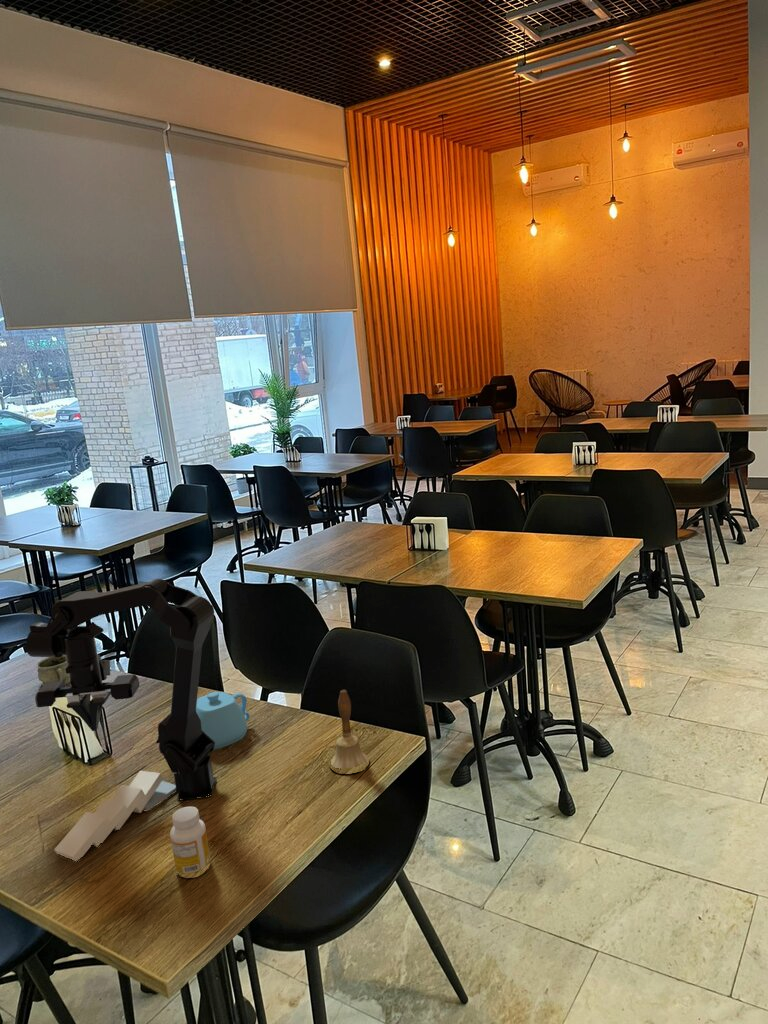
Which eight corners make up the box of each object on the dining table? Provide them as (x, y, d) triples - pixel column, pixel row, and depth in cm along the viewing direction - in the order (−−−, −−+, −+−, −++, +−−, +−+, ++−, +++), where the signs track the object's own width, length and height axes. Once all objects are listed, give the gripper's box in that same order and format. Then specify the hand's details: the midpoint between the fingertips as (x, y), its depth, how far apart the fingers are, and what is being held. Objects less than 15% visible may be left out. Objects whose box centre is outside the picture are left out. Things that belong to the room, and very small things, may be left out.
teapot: (157, 700, 168) (232, 674, 178) (164, 745, 170) (238, 717, 181) (180, 719, 158) (258, 690, 168) (187, 766, 160) (263, 735, 171)
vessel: (80, 682, 209) (76, 661, 208) (46, 694, 203) (42, 671, 202) (66, 671, 218) (62, 650, 217) (33, 681, 213) (29, 660, 211)
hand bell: (345, 750, 161) (338, 679, 158) (378, 759, 156) (371, 686, 153) (320, 769, 155) (312, 696, 151) (353, 779, 150) (346, 704, 147)
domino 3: (98, 825, 142) (125, 790, 148) (118, 831, 139) (144, 794, 145) (94, 820, 141) (121, 784, 147) (114, 825, 139) (141, 789, 145)
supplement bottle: (197, 853, 131) (188, 799, 129) (218, 865, 128) (210, 810, 126) (169, 872, 127) (160, 816, 125) (190, 884, 123) (181, 828, 121)
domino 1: (58, 855, 134) (90, 816, 140) (77, 862, 132) (109, 823, 137) (54, 849, 133) (86, 811, 139) (72, 857, 131) (105, 817, 136)
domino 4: (119, 809, 146) (143, 776, 152) (140, 812, 144) (163, 778, 150) (116, 804, 145) (140, 770, 152) (137, 807, 143) (160, 773, 150)
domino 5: (130, 809, 148) (162, 787, 154) (148, 815, 145) (179, 793, 152) (129, 801, 147) (161, 780, 154) (146, 807, 145) (178, 785, 151)
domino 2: (79, 840, 138) (109, 804, 143) (98, 847, 135) (128, 810, 141) (75, 835, 137) (105, 798, 143) (94, 842, 134) (124, 804, 140)
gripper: (140, 637, 159) (151, 707, 162) (49, 646, 158) (62, 716, 161) (125, 658, 148) (137, 732, 151) (27, 667, 147) (42, 742, 150)
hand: (95, 729), depth 154 cm, fingers closed
